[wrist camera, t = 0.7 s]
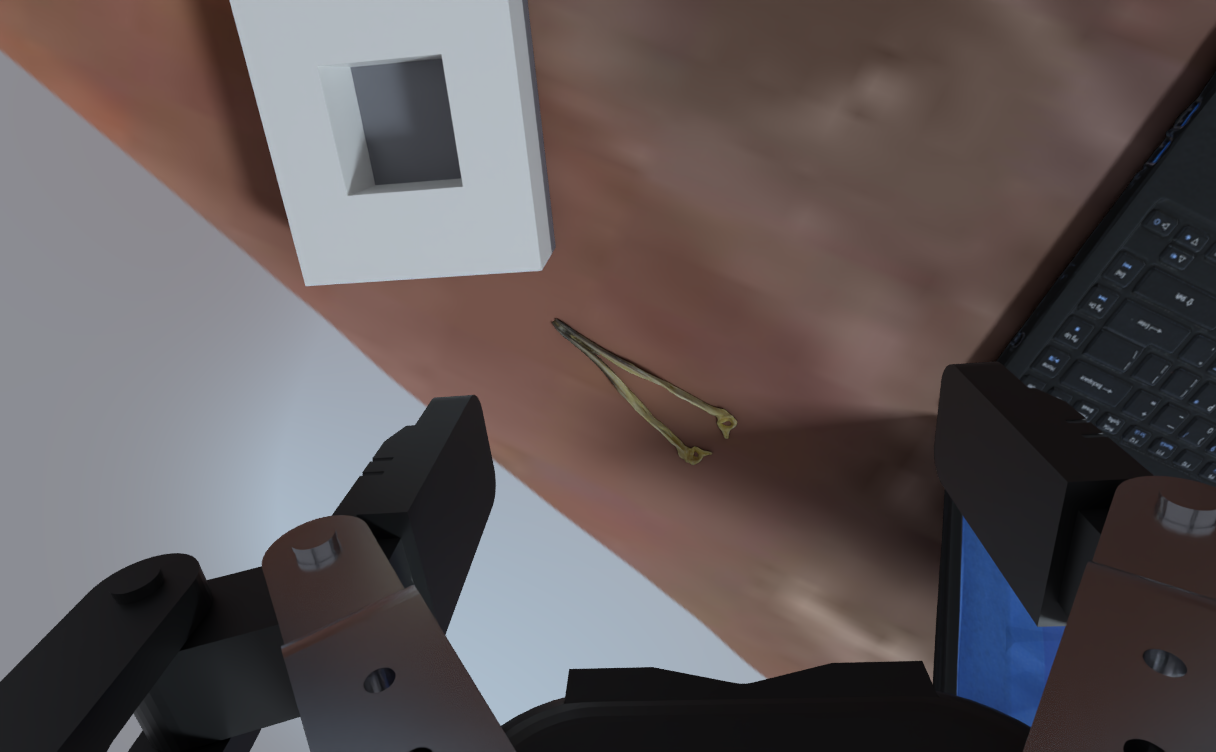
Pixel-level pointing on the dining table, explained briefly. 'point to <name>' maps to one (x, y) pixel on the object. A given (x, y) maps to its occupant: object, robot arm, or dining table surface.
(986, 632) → the laptop
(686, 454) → the tan bony v-shaped piece
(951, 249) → the dining table surface
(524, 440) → the dining table surface
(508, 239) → the box
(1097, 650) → the robot arm
